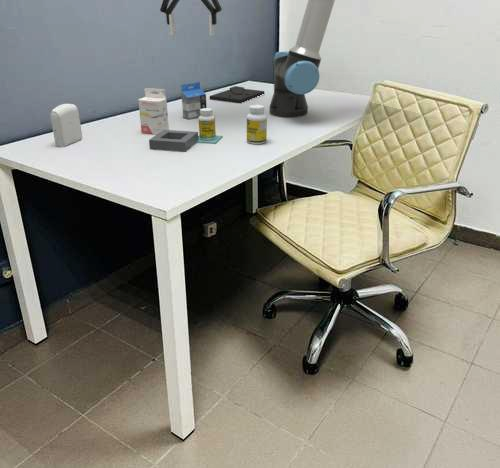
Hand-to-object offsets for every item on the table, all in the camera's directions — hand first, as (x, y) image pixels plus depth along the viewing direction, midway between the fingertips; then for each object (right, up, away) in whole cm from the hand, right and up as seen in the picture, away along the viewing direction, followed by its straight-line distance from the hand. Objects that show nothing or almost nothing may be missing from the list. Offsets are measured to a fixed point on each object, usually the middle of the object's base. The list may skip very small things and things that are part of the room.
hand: (192, 35), depth 169 cm
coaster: (+5, -35, -1) cm, 35 cm away
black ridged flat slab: (+14, -5, +58) cm, 60 cm away
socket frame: (-5, -37, -6) cm, 38 cm away
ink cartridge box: (-14, -31, +8) cm, 35 cm away
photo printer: (-40, -36, -2) cm, 54 cm away
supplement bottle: (+5, -35, -1) cm, 35 cm away
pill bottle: (+21, -36, -3) cm, 42 cm away
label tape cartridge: (-2, -21, +27) cm, 34 cm away
